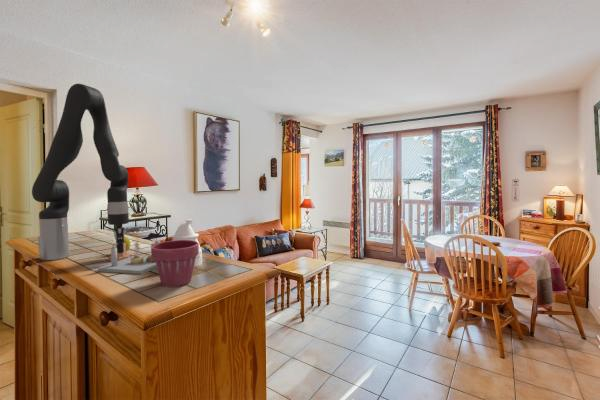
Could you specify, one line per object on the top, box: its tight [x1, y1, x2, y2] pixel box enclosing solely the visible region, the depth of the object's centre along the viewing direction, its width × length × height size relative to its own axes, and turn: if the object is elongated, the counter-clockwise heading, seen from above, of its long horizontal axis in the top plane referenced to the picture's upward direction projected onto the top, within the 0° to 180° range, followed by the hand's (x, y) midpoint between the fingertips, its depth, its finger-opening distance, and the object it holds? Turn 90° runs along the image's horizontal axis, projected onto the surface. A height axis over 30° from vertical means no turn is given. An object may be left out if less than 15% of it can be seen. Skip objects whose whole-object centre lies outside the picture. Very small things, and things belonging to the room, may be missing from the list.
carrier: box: [97, 240, 161, 275], centre depth 117 cm, size 18×18×9 cm
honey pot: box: [171, 218, 203, 268], centre depth 119 cm, size 13×13×18 cm
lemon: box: [124, 236, 131, 252], centre depth 136 cm, size 6×6×8 cm
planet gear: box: [107, 242, 132, 263], centre depth 126 cm, size 8×8×6 cm
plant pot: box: [150, 240, 200, 288], centre depth 98 cm, size 14×14×13 cm
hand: (119, 250), depth 126 cm, fingers open, 8 cm apart
